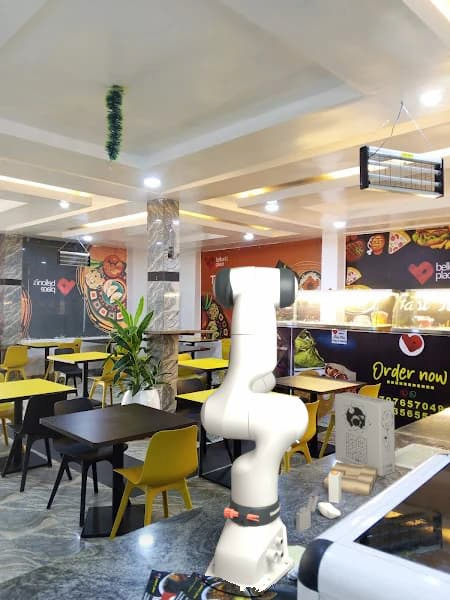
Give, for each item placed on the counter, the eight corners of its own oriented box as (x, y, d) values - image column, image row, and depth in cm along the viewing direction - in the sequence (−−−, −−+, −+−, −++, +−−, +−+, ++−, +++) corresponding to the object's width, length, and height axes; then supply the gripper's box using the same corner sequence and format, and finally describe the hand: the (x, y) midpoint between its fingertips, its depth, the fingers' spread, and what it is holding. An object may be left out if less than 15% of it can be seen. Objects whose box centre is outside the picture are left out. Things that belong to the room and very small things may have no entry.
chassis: (369, 496, 146) (369, 486, 146) (324, 488, 152) (324, 479, 152) (377, 476, 162) (377, 467, 162) (336, 470, 169) (336, 462, 169)
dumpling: (313, 516, 133) (313, 502, 133) (323, 510, 137) (323, 496, 137) (335, 524, 128) (334, 509, 128) (345, 518, 132) (344, 503, 132)
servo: (338, 503, 141) (338, 473, 141) (328, 501, 143) (328, 472, 143) (341, 498, 145) (341, 469, 145) (331, 496, 146) (331, 468, 146)
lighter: (300, 531, 124) (299, 501, 124) (295, 529, 126) (295, 499, 126) (319, 524, 128) (318, 494, 129) (314, 521, 130) (313, 492, 130)
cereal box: (395, 472, 166) (394, 401, 166) (380, 476, 162) (379, 404, 162) (349, 455, 184) (348, 391, 184) (335, 459, 180) (334, 394, 180)
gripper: (260, 413, 143) (291, 449, 139) (281, 399, 162) (310, 431, 157) (246, 426, 145) (277, 462, 141) (269, 411, 164) (297, 443, 159)
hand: (294, 446), depth 149 cm, fingers open, 8 cm apart
